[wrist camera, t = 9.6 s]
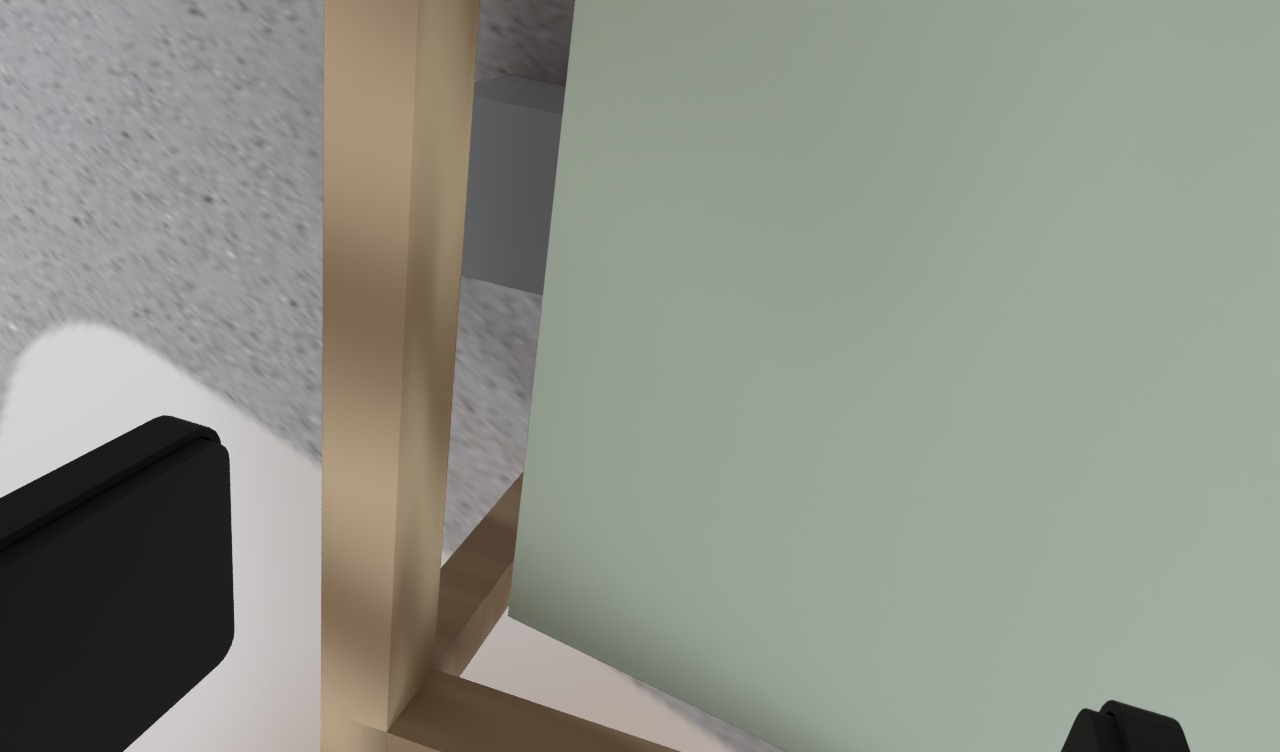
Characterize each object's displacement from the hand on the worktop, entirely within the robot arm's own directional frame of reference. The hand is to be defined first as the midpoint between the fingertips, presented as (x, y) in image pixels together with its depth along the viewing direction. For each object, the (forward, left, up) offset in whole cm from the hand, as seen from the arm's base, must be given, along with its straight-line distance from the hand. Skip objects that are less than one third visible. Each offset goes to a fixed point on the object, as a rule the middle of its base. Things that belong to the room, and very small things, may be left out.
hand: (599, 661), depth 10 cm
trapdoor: (0, -5, -8) cm, 9 cm away
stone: (0, +4, -18) cm, 19 cm away
